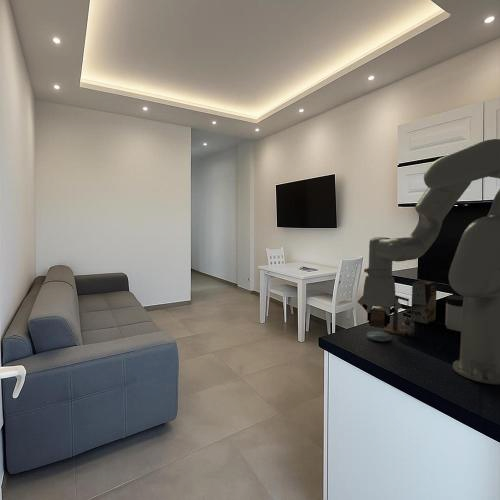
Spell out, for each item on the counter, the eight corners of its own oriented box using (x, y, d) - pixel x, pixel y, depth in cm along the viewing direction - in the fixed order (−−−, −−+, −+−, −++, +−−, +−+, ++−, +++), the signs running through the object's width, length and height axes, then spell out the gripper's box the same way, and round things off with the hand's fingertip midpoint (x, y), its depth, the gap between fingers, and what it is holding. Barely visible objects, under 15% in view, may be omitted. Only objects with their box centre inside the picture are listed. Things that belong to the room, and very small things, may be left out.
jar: (473, 333, 114) (475, 301, 113) (447, 330, 118) (449, 299, 117) (467, 325, 123) (469, 295, 122) (443, 323, 126) (444, 294, 125)
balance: (412, 337, 111) (413, 296, 110) (376, 331, 118) (377, 292, 116) (413, 333, 115) (414, 293, 114) (379, 328, 121) (379, 290, 120)
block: (384, 328, 107) (384, 312, 106) (370, 326, 109) (370, 310, 109) (386, 324, 111) (386, 309, 110) (372, 322, 113) (373, 307, 113)
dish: (389, 344, 105) (389, 340, 104) (364, 340, 109) (364, 336, 109) (392, 337, 111) (392, 333, 111) (369, 333, 116) (369, 329, 115)
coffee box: (426, 324, 125) (428, 284, 124) (410, 320, 130) (411, 282, 129) (435, 319, 131) (437, 281, 130) (419, 316, 136) (421, 279, 135)
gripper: (352, 272, 109) (351, 323, 111) (405, 277, 100) (403, 332, 102) (357, 269, 116) (356, 317, 117) (408, 273, 107) (406, 325, 109)
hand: (378, 323), depth 110 cm, fingers closed on block, 4 cm apart
